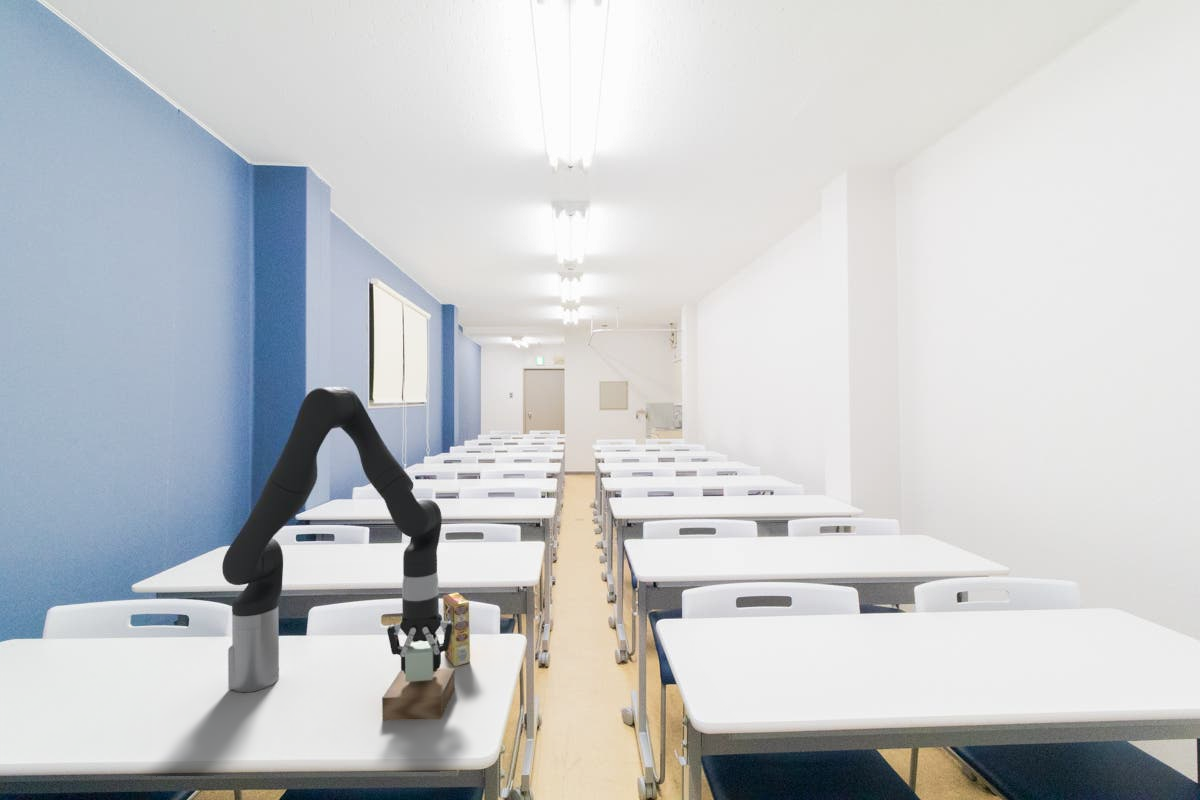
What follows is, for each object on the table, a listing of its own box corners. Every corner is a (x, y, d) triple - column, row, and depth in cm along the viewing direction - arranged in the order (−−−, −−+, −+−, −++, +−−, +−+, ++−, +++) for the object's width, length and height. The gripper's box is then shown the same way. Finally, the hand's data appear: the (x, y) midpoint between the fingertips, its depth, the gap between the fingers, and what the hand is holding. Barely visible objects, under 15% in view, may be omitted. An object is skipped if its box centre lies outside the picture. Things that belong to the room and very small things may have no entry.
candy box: (470, 662, 140) (470, 601, 140) (454, 667, 137) (453, 605, 137) (458, 649, 147) (458, 591, 147) (442, 654, 145) (442, 594, 145)
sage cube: (405, 681, 119) (405, 653, 119) (410, 669, 124) (410, 642, 124) (432, 680, 119) (431, 651, 119) (436, 667, 125) (436, 640, 125)
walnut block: (382, 722, 115) (382, 697, 115) (401, 691, 127) (401, 669, 127) (441, 720, 115) (441, 696, 115) (454, 690, 127) (454, 668, 127)
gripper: (381, 601, 117) (382, 681, 117) (452, 597, 119) (452, 676, 119) (390, 589, 125) (391, 665, 125) (456, 585, 126) (457, 660, 126)
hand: (421, 670), depth 122 cm, fingers closed on sage cube, 5 cm apart
